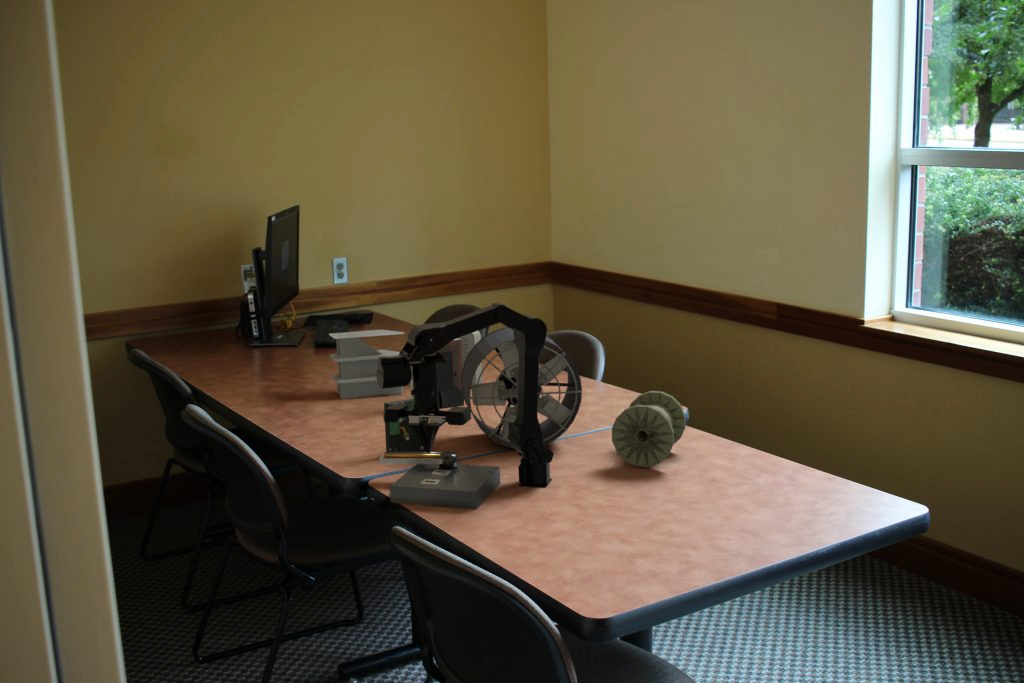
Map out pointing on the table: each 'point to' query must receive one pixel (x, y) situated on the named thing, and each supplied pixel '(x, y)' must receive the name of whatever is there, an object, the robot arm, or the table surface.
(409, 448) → the disk drive
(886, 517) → the table surface
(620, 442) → the spool
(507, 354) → the ventilation fan
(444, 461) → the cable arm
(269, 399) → the table surface
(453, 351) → the picture frame
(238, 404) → the table surface
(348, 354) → the file organizer
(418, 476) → the grey flat block
